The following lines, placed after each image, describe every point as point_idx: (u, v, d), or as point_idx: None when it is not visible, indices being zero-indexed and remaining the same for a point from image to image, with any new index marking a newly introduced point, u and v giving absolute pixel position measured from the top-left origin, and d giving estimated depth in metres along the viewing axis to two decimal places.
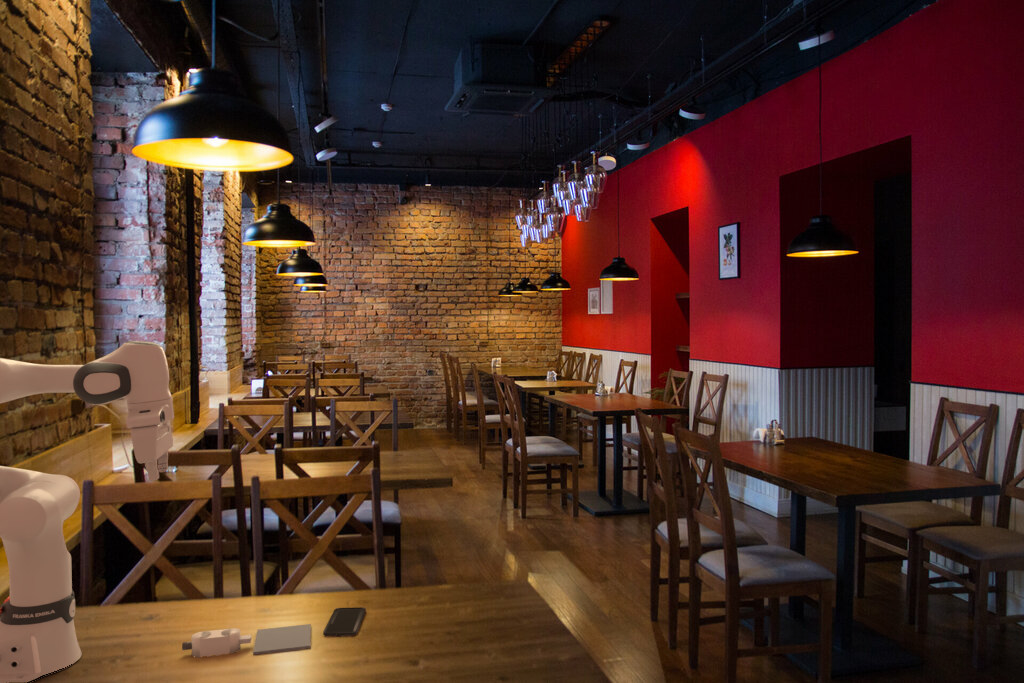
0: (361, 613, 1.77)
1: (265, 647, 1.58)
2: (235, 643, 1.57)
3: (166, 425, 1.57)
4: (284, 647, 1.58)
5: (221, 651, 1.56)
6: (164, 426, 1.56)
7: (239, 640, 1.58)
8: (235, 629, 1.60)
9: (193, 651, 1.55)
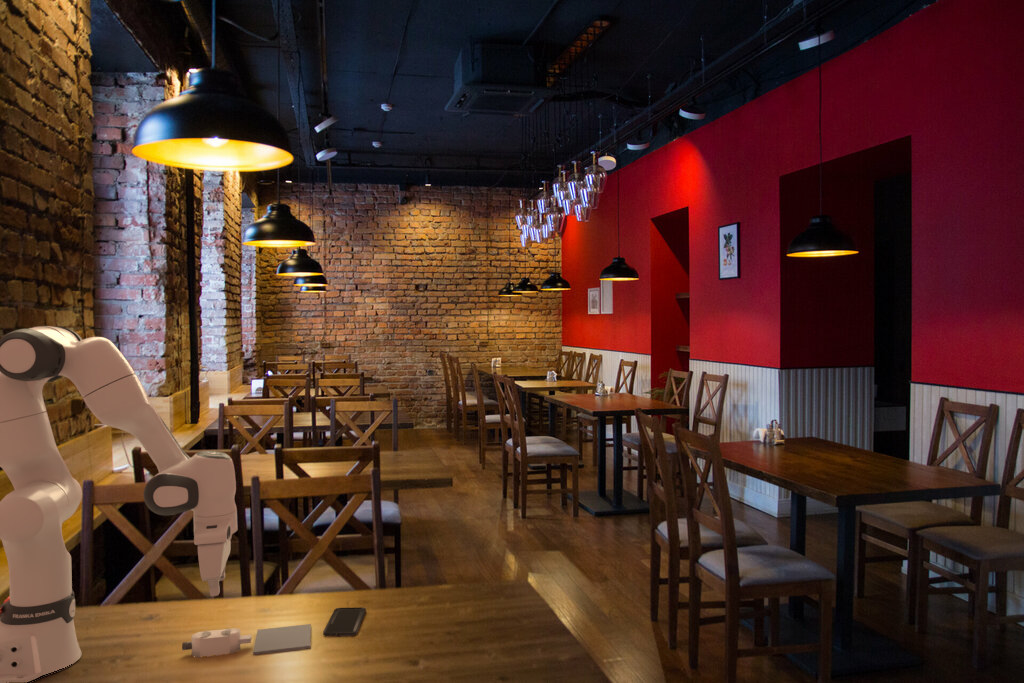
0: (361, 613, 1.77)
1: (265, 647, 1.58)
2: (235, 643, 1.57)
3: (229, 538, 1.57)
4: (284, 647, 1.58)
5: (221, 651, 1.56)
6: (227, 539, 1.56)
7: (239, 640, 1.58)
8: (235, 629, 1.60)
9: (193, 651, 1.55)
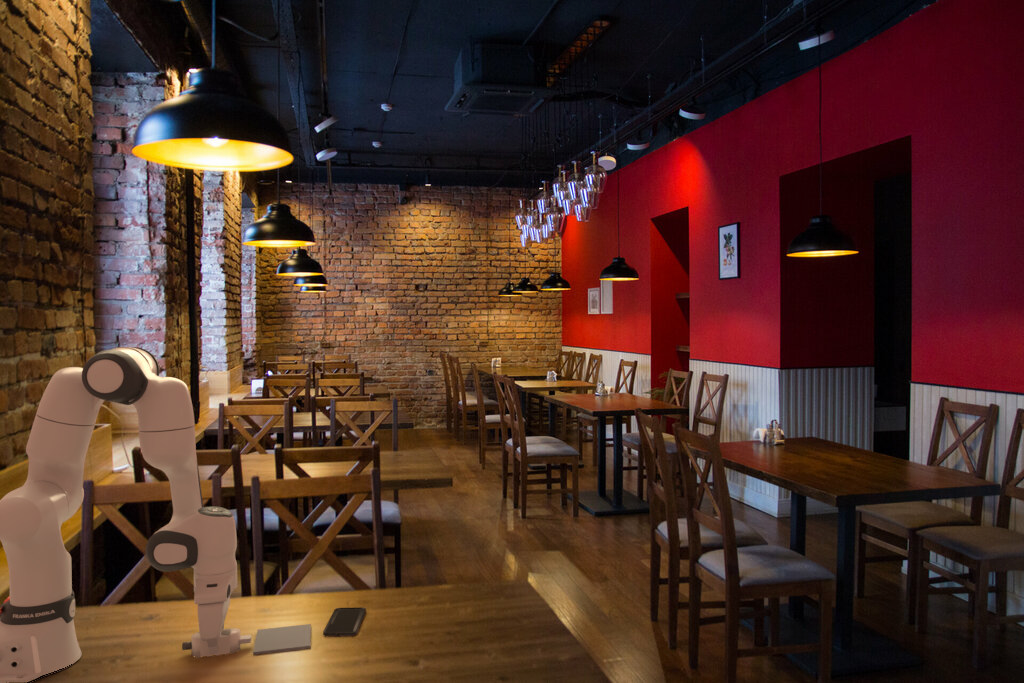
0: (361, 613, 1.77)
1: (265, 647, 1.58)
2: (235, 643, 1.57)
3: (229, 594, 1.57)
4: (284, 647, 1.58)
5: (221, 651, 1.56)
6: (227, 596, 1.56)
7: (239, 640, 1.58)
8: (235, 629, 1.60)
9: (193, 651, 1.55)
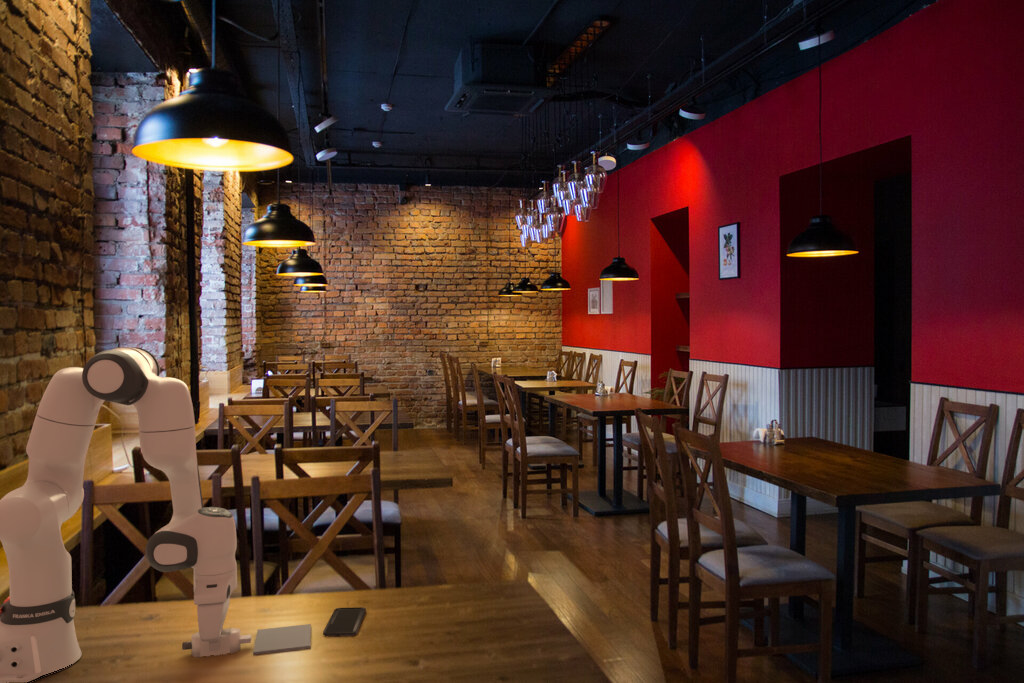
0: (361, 613, 1.77)
1: (265, 647, 1.58)
2: (235, 643, 1.57)
3: (229, 595, 1.57)
4: (284, 647, 1.58)
5: (221, 651, 1.56)
6: (227, 597, 1.56)
7: (239, 640, 1.58)
8: (235, 629, 1.60)
9: (193, 651, 1.55)
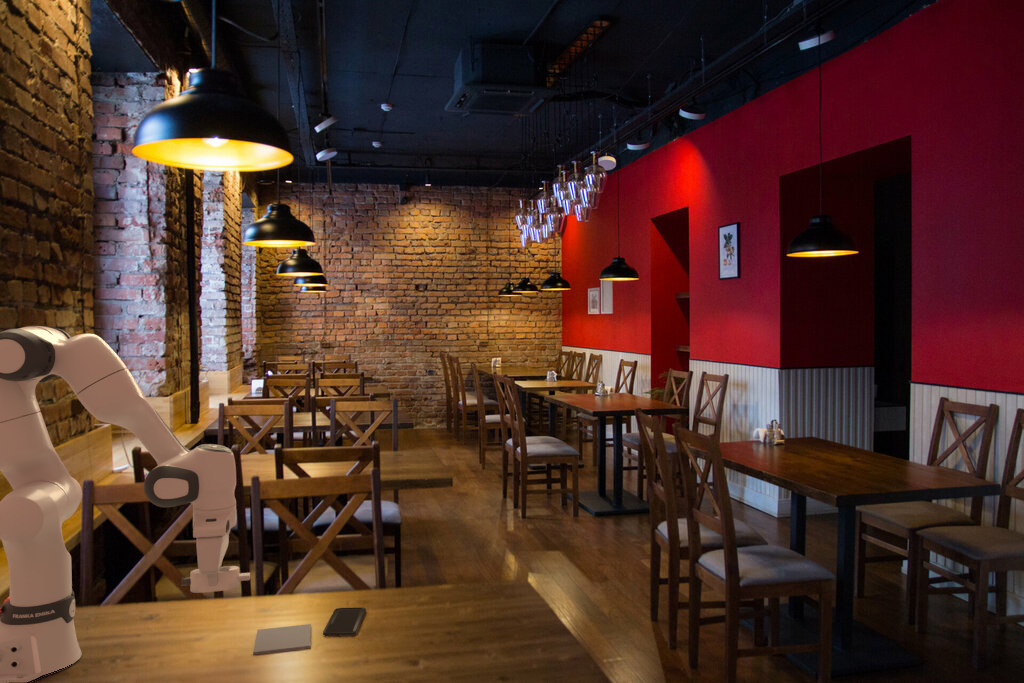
0: (361, 613, 1.77)
1: (265, 647, 1.58)
2: (234, 580, 1.57)
3: (228, 531, 1.57)
4: (284, 647, 1.58)
5: (220, 587, 1.56)
6: (226, 533, 1.56)
7: (238, 577, 1.58)
8: (234, 566, 1.59)
9: (192, 586, 1.55)
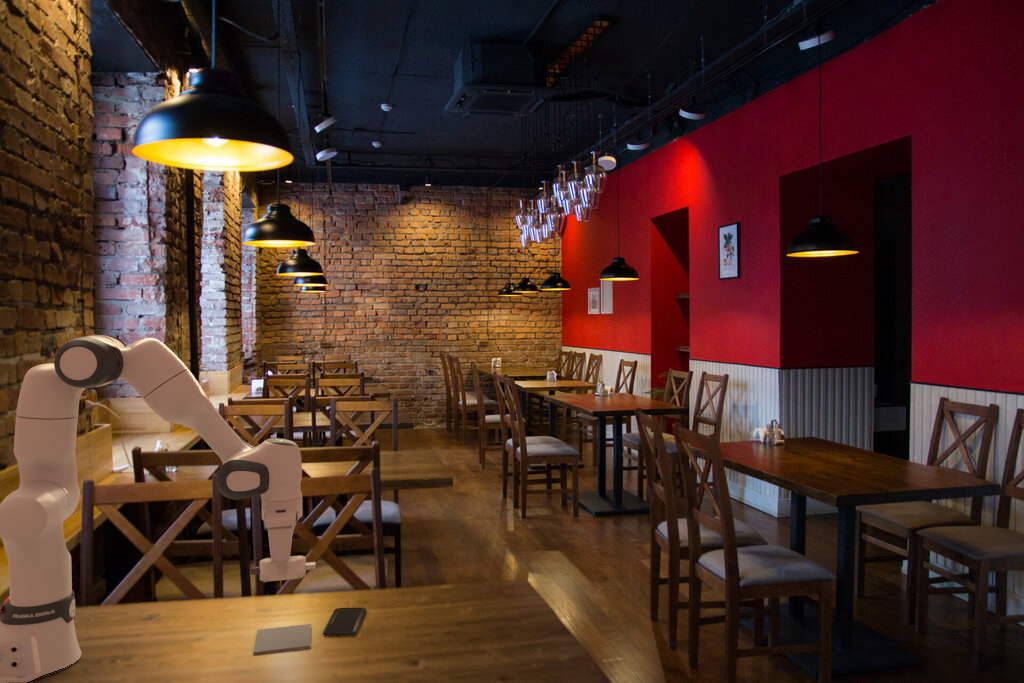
0: (361, 613, 1.77)
1: (265, 647, 1.58)
2: (302, 569, 1.63)
3: (295, 522, 1.62)
4: (284, 647, 1.58)
5: (288, 576, 1.61)
6: None
7: (305, 566, 1.63)
8: (300, 556, 1.65)
9: (261, 575, 1.60)
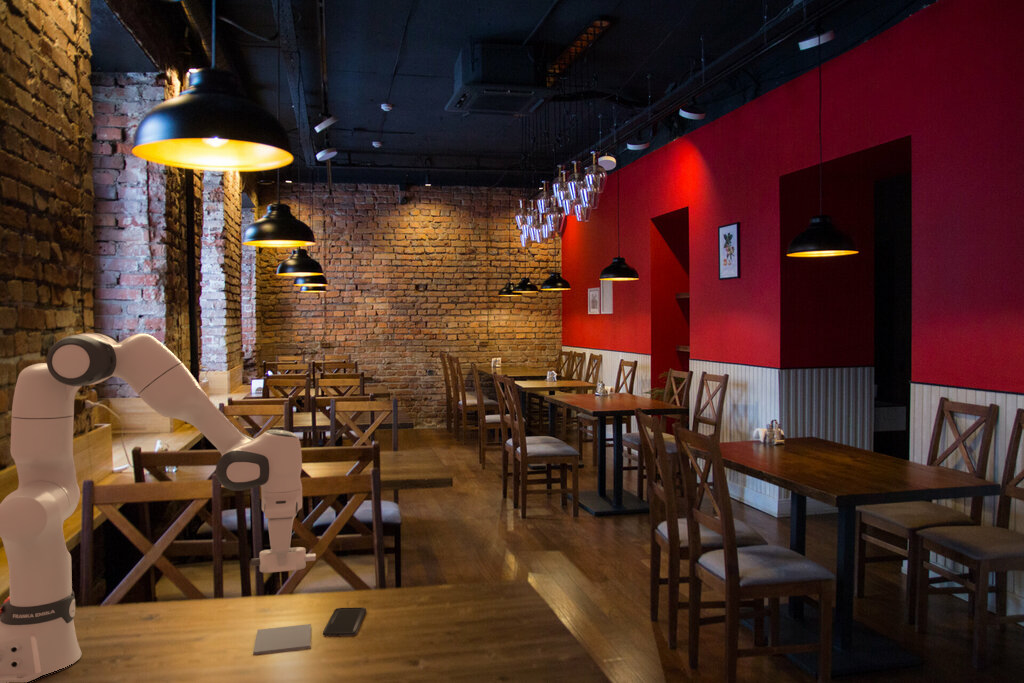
0: (361, 613, 1.77)
1: (265, 647, 1.58)
2: (302, 560, 1.63)
3: None
4: (284, 647, 1.58)
5: (288, 567, 1.61)
6: None
7: (305, 557, 1.63)
8: (300, 547, 1.65)
9: (261, 567, 1.60)
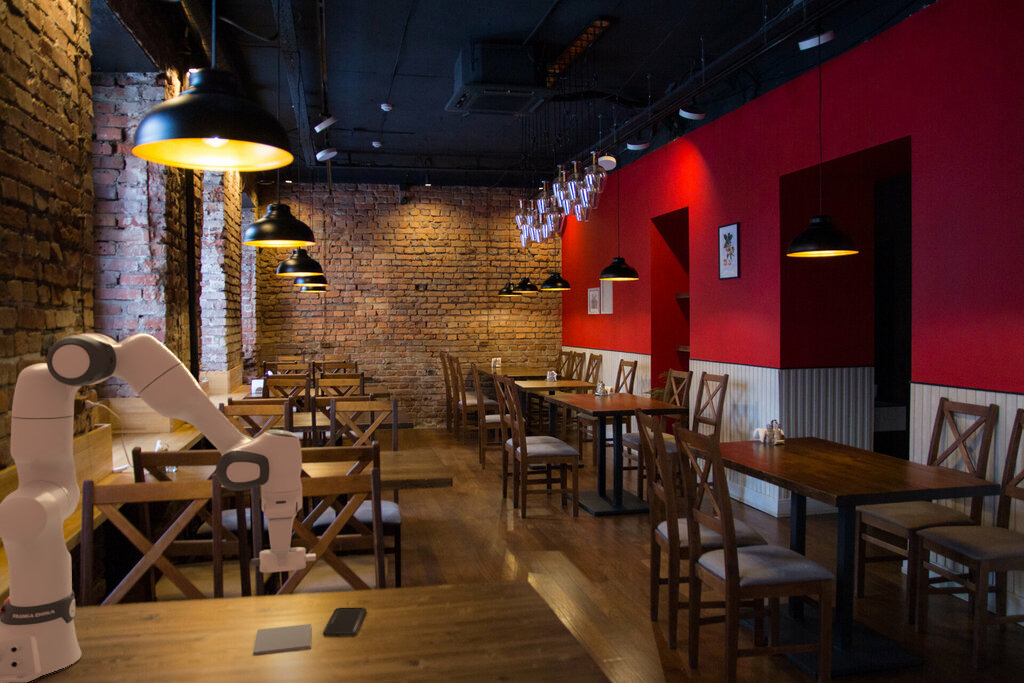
0: (361, 613, 1.77)
1: (265, 647, 1.58)
2: (302, 560, 1.63)
3: None
4: (284, 647, 1.58)
5: (288, 567, 1.61)
6: None
7: (305, 557, 1.63)
8: (300, 547, 1.65)
9: (261, 567, 1.60)
